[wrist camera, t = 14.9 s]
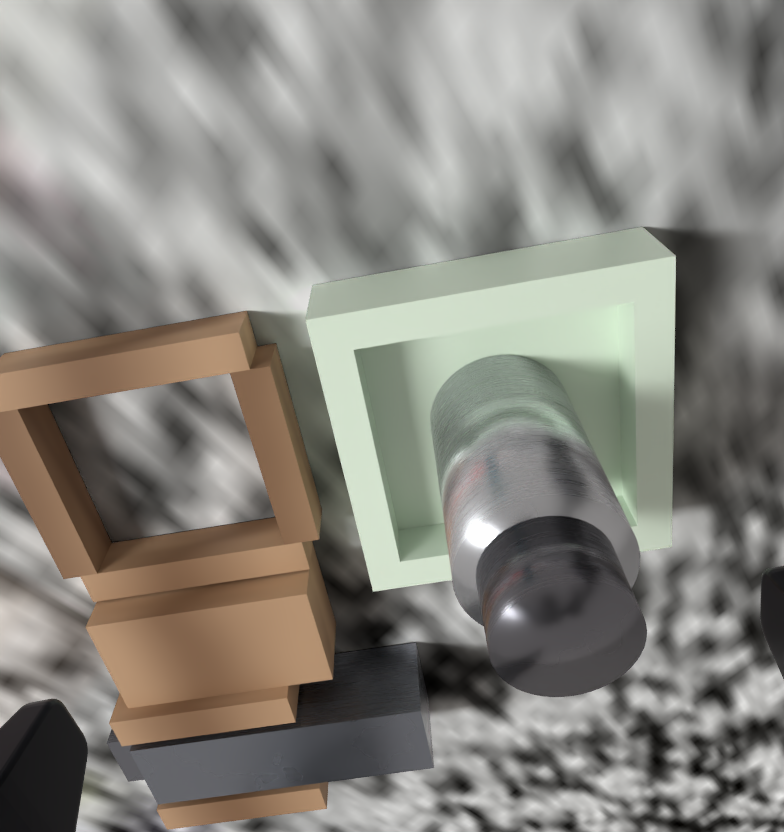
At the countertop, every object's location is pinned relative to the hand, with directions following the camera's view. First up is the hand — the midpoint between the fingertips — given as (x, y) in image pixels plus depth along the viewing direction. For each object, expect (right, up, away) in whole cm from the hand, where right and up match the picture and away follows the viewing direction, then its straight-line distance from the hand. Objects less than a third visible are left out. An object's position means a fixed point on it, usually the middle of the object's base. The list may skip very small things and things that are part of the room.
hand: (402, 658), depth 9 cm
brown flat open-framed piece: (-6, -2, +16) cm, 17 cm away
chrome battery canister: (+3, +3, +12) cm, 13 cm away
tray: (+3, +4, +13) cm, 14 cm away
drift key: (-4, -7, +19) cm, 21 cm away
